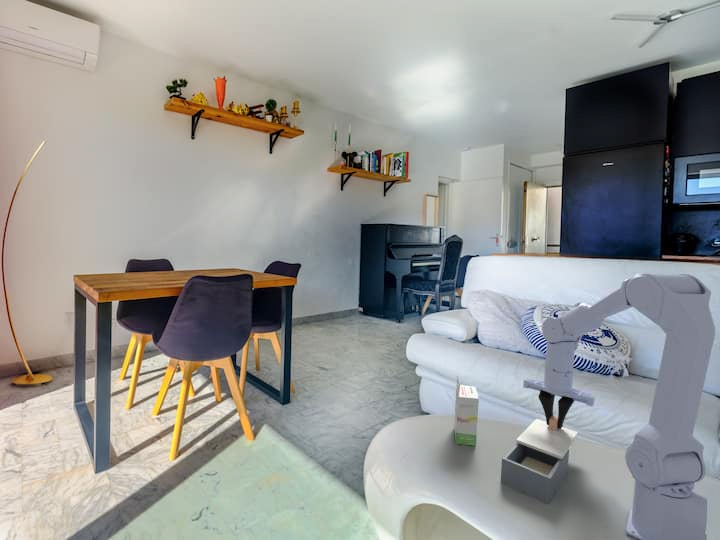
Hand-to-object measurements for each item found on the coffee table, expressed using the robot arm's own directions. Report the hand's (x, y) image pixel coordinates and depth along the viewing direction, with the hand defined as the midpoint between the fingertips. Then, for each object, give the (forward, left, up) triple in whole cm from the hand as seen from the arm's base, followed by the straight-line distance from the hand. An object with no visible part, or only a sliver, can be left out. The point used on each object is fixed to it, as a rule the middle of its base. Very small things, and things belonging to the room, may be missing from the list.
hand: (554, 425), depth 86 cm
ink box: (+18, +9, -7) cm, 21 cm away
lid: (0, +5, -1) cm, 5 cm away
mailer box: (0, +13, -6) cm, 15 cm away
